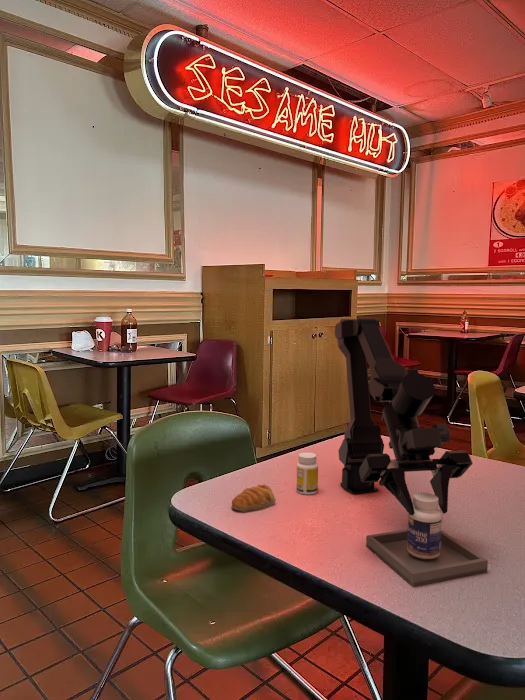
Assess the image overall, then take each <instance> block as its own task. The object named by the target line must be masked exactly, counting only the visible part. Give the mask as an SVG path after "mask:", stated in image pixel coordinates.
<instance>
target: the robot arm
mask: <svg viewBox="0 0 525 700" xmlns="http://www.w3.org/2000/svg"><path fill="white" fill-rule="evenodd" d="M380 324H381V323H380V321H379V319H378V318H375V317H358V318H341V319H340V321H339V322H338V323H336V324H335V326H334V327H335V328H334V336H335V339H336V340H337V347H338V349H339V350H340V352H341V353H342V354H343V356H344V357H345V361H346V364H345V365H346V376H347V377H346V379H347V388H348V389H347V391H348V392H347V393H348V402H349V403H348V404H349V415H350V416H349V417H350V418H349V422H348V424H347V426H346V427H345V430H344V431H343V432H344V433H343V434H344V438H343V440H342V442H341V445H340V446H339V449H338V460H339V461H340V463H342V465H343V467H342V471H341V482H340V484H339V485H340V486H341V487H342V488H344V489H345V490H347V491H348V492H350V494H353V495H356V494H364V493H373V492H378V491H379V488H378V487H376V486H375V483H378V485H379V486H381V487H384V488H386V489H387V491H388V492H389V493H391V494H392V496H394V497H395V499H396V500H397V501H398V502H399V503H400V505H401V506H402V508H404V509H405V511H406V512H407V514H408V513H409V514H410V515H414V513H415V512H414V507H413V506H414V504H413V499H412V497H411V494H410V491H409V488H408V484H407V483H406V475H405V473H407V472H409V473H410V472H427V471H428V472H429V471H431V474H432V478H431V479H430V480H429V482H430V485H431V488H432V491H433V495H435V496H437V497H438V504H439V505H438V508H439V510H440V511H441V513H442V515H443V514H446V513H447V512H448V510H449V509H448V504H449V503H448V502H449V485H450V479H458V478H461V477H462V476H463V475H464V474H465V473H466V472H467V471H468V469H469V468H470V467H471V466H472V465H473V461H472V457H471V454H469V452H468V451H466V450H446V451H445V452H444V453H443V454H442V455H441V457H440V458H431V456H433V455H435V453H436V451H435V449H436V448H442V447H443V444H447V443H449V442H450V441H451V433H450V430H449V428H448V425H447V424H446V423H436V424H433V425H432V427H424V426H420V423H419V420H418V418H417V417H418V416H420V415H421V414H423V412H424V410H425V409H426V407H427V405H428V404H429V403H430V401H431V399H432V398H433V396H434V394H435V393H436V392H435V391H436V389H435V384H434V383H433V382H432V381H431V380H430V379H429V378H428V377H427V376H425V375H424V374H421V373H419V371H418V369H417V368H405V366H403V365H401V364H400V363H399V362H396V361H395V359H394V358H393V356H392V353H391V351H390V349H389V347H388V344H387V342H386V340H385V337H384V335H383V333H382V332H381V325H380ZM368 366H369V369H370V372H371V376H370V378H369V372H368ZM370 395H371V396H372V398H373V400H374V401H375V402H376V403H386V405H384V408H383V410H382V415H381V422H384V423H385V426H386V429H387V433H388V437H389V442H388V447H389V449H392V451H393V455H394V458H395V459H391V456H390V455H389V454H388V453H384V450H385V443H384V440H383V438H382V432H381V431H382V430H381V426H380V424H376V422H375V420H374V419H373V418H372V412H371V411H372V408H371V398H370V397H371V396H370ZM387 402H388V403H387Z"/></svg>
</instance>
